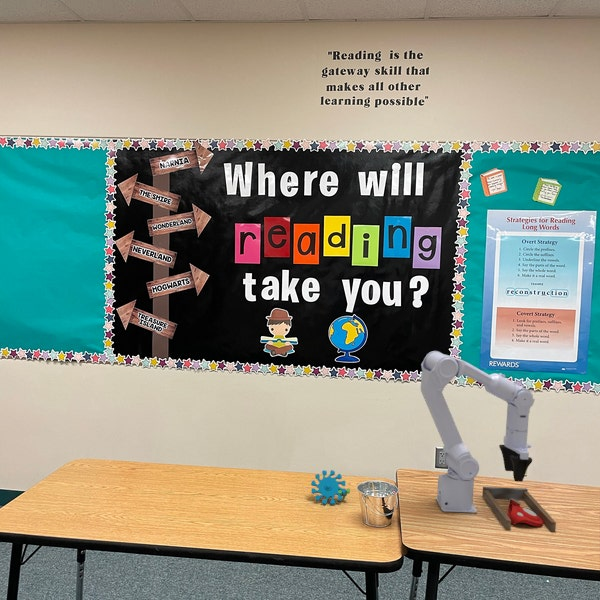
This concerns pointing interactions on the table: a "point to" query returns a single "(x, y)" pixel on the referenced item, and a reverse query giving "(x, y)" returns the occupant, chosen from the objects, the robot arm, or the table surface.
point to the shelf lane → (519, 494)
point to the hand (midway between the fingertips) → (513, 475)
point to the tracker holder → (522, 514)
